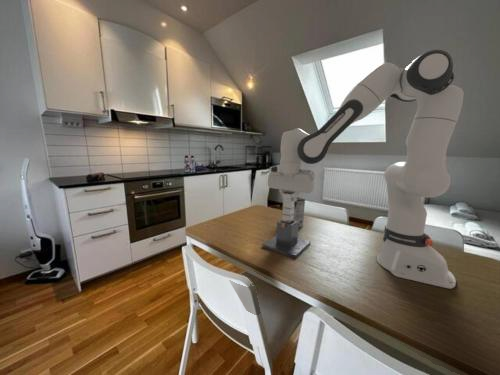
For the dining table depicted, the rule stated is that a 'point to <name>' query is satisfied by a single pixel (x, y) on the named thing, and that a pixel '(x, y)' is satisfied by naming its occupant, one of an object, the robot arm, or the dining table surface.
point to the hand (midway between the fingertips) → (288, 200)
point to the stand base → (287, 240)
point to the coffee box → (299, 211)
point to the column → (288, 207)
